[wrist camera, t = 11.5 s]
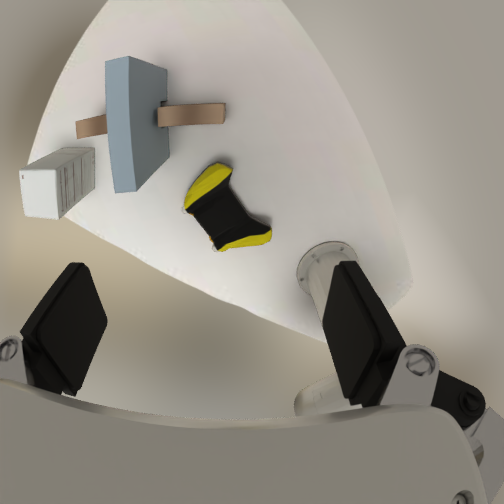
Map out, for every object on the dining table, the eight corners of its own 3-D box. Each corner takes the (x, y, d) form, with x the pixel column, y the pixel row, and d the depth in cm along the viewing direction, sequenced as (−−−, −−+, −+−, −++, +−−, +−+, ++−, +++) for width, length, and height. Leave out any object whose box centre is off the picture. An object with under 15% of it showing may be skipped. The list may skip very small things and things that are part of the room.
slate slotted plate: (169, 157, 39) (136, 191, 25) (154, 158, 39) (115, 193, 25) (167, 69, 31) (128, 55, 18) (150, 71, 31) (105, 61, 18)
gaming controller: (225, 152, 39) (173, 186, 42) (224, 160, 35) (166, 199, 37) (274, 225, 47) (225, 252, 49) (278, 241, 42) (224, 270, 44)
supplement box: (63, 186, 39) (23, 217, 28) (62, 147, 35) (17, 168, 25) (96, 189, 40) (59, 221, 30) (96, 147, 36) (54, 169, 26)
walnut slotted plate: (225, 103, 35) (223, 103, 28) (225, 119, 37) (223, 123, 30) (100, 115, 34) (75, 121, 27) (101, 130, 35) (77, 139, 28)
